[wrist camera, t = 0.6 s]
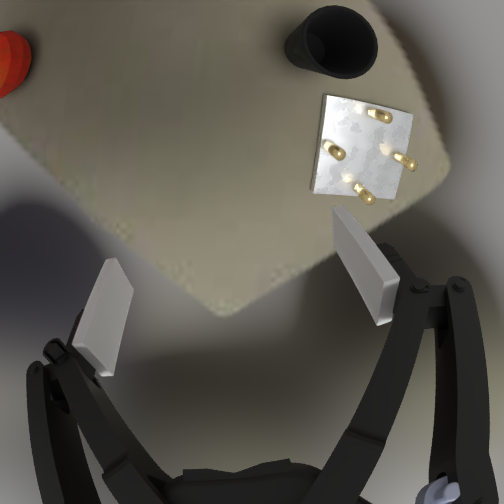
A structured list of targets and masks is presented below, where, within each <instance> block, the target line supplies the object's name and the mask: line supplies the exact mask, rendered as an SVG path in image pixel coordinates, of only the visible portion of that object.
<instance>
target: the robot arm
mask: <svg viewBox="0 0 504 504" xmlns="http://www.w3.org/2000/svg"><path fill="white" fill-rule="evenodd" d="M332 222H333V243H334V248H335V249H336V251H337V253H338V255H339V256H340V258H341V260H342V261H343V263H344V265H345V267H346V268H347V270H348V272H349V274H350V276H351V278H352V279H353V281H354V283H355V285H356V287H357V288H358V290H359V292H360V294H361V296H362V298H363V300H364V301H365V303H366V305H367V307H368V309H369V311H370V313H371V314H372V317H373V319H374V321H375V323H376V325H377V326H378V325H381V324H384V323H387V322H390V321H391V320H392V315H393V313H394V315H395V317H394V320H393V323H392V326H391V329H390V332H389V334H388V337H387V340H386V343H385V345H384V348H383V350H382V353H381V355H380V358H379V360H378V363H377V365H376V368H375V370H374V373H373V375H372V377H371V380H370V382H369V384H368V386H367V389H366V391H365V393H364V395H363V397H362V400H361V402H360V404H359V406H358V408H357V410H356V412H355V414H354V416H353V418H352V420H351V423H350V424H349V426H348V428H347V429H346V430H345V432H344V433H343V435H342V437H341V439H340V440H339V442H338V444H337V445H336V447H335V449H334V451H333V452H332V454H331V456H330V458H329V459H328V461H327V463H326V464H325V466H324V468H323V469H322V470H320V469H318V468H316V467H313V466H311V465H306V464H302V463H291V462H290V459H284V460H278V461H272V462H266V463H261V464H259V465H256V466H253V467H250V468H248V469H245V470H242V471H239V472H236V473H231V472H224V471H218V470H212V469H184V470H183V475H181V476H178V477H176V478H174V479H172V478H171V477H170V476H169V475H167V474H166V473H165V472H164V471H163V470H162V469H161V468H160V467H159V466H158V465H157V464H156V462H155V461H154V460H153V459H152V457H150V455H149V454H148V453H147V451H146V450H145V449H144V447H143V446H142V445H141V443H140V442H139V441H138V440H137V438H136V437H135V435H134V434H133V433H132V431H131V430H130V429H129V427H128V426H127V424H126V423H125V421H124V420H123V419H122V417H121V416H120V414H119V413H118V411H117V410H116V408H115V407H114V405H113V404H112V402H111V401H110V399H109V397H108V396H107V394H106V393H105V391H104V389H103V388H102V386H101V384H100V383H99V381H98V379H97V378H96V377H95V376H94V375H95V371H97V372H98V373H99V374H100V375H101V376H113V375H114V370H115V364H116V360H117V355H118V350H119V347H120V342H121V338H122V334H123V330H124V326H125V322H126V318H127V314H128V310H129V306H130V302H131V299H132V295H133V292H134V290H133V288H132V286H131V284H130V283H129V281H128V279H127V277H126V275H125V274H124V272H123V270H122V268H121V266H120V264H119V262H118V261H117V259H116V258H112V259H108V260H106V261H105V263H104V265H103V267H102V269H101V271H100V274H99V276H98V278H97V281H96V283H95V285H94V288H93V290H92V293H91V295H90V297H89V300H88V302H87V305H86V307H85V309H82V310H81V312H80V313H79V314H78V316H77V318H76V320H75V323H74V325H73V328H72V331H71V333H70V336H69V339H68V342H67V344H66V346H65V345H64V343H63V342H62V341H61V340H60V339H59V338H54V339H52V340H51V341H49V342H48V343H47V344H46V346H45V347H44V350H43V356H44V357H45V358H46V359H47V360H48V361H49V362H50V364H47V365H45V366H44V365H43V364H42V363H41V362H40V361H34V362H33V363H32V364H31V365H30V366H29V368H28V370H27V373H26V388H27V410H28V423H29V433H30V440H31V448H32V455H33V460H34V466H35V471H36V476H37V481H38V485H39V490H40V494H41V498H42V502H43V504H101V501H100V499H99V496H98V493H97V490H96V488H95V485H94V482H93V479H92V476H91V473H90V470H89V467H88V464H87V460H86V457H85V453H84V450H83V446H82V442H81V438H80V434H79V430H78V425H79V427H80V429H81V431H82V433H83V435H84V437H85V439H86V441H87V443H88V444H89V446H90V448H91V450H92V451H93V453H94V455H95V457H96V458H97V460H98V461H99V464H100V465H101V467H102V468H103V470H104V473H103V474H102V479H103V480H104V482H105V484H106V485H107V487H108V488H109V490H110V491H111V493H112V494H113V496H114V497H115V499H116V500H117V501H118V503H119V504H372V503H370V502H368V501H367V500H365V499H364V498H362V497H361V496H359V495H360V493H361V492H362V490H363V488H364V487H365V485H366V483H367V481H368V479H369V477H370V475H371V474H372V471H373V470H374V468H375V466H376V464H377V462H378V460H379V458H380V456H381V453H382V451H383V449H384V446H385V444H386V440H387V437H388V435H389V432H390V430H391V428H392V425H393V423H394V420H395V418H396V415H397V413H398V410H399V408H400V405H401V402H402V400H403V397H404V394H405V391H406V388H407V386H408V382H409V379H410V376H411V373H412V370H413V367H414V364H415V360H416V357H417V353H418V350H419V346H420V342H421V339H422V335H423V331H424V329H429V328H434V335H435V357H436V392H435V393H436V395H435V414H434V428H433V438H432V447H431V456H430V463H429V484H427V485H426V486H424V487H423V488H422V489H421V490H420V491H419V493H418V495H417V497H416V503H415V504H498V503H499V498H498V492H497V486H496V482H495V477H494V472H493V468H492V464H491V459H490V456H489V433H490V421H489V420H490V415H489V414H490V413H489V392H488V391H489V390H488V378H487V368H486V359H485V351H484V345H483V338H482V332H481V327H480V322H479V316H478V312H477V307H476V303H475V298H474V294H473V290H472V286H471V285H470V282H469V281H467V279H465V278H463V277H460V276H452V277H451V278H449V279H448V281H447V283H446V285H430V283H429V282H428V281H426V280H425V279H422V278H417V277H416V276H415V274H414V273H413V272H412V270H411V269H410V268H409V267H408V265H407V264H406V263H405V261H404V260H403V259H402V257H400V255H399V254H398V252H397V251H396V250H395V249H394V247H392V246H390V245H389V244H387V243H382V244H378V245H376V244H375V243H374V242H373V241H372V239H371V238H370V237H369V235H368V234H367V233H366V231H365V230H364V229H363V228H362V226H361V225H360V224H359V223H358V221H357V220H356V219H355V218H354V216H353V215H352V214H351V213H350V211H349V210H348V209H347V208H346V207H345V205H339V206H334V207H332ZM77 423H78V425H77Z"/></svg>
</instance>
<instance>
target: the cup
mask: <svg viewBox="0 0 504 504" xmlns="http://www.w3.org/2000/svg"><path fill="white" fill-rule="evenodd" d="M377 52H378V44H377V38H376V35H375V32H374V30H373V29H372V27H371V25H370V24H369V22H368V21H367V20H366V19H365V18H364V17H363V16H361V15H360V14H359V13H357V12H356V11H354V10H352V9H349V8H347V7H343V6H337V5H334V6H325V7H322V8H319V9H317V10H316V11H314V12H313V13H311V14H310V15H309V16H308V17H307V18H306V19H305V20H304V21H303V22H302V23H301V24H300V25H299V26H298V27H297V29H296V30H295V31H294V32H293V33H292V34H291V35H290V36H289V37H288V39H287V40H286V43H285V53H286V56H287V58H288V59H289V60H290V62H292V63H293V64H294V65H296V66H297V67H300V68H303V69H307V70H311V71H314V72H318V73H321V74H325V75H328V76H332V77H335V78H339V79H352V78H356V77H359V76H361V75H363V74H365V73H366V72H367V71H368V70H370V68H371V67H372V66H373V64H374V62H375V60H376V57H377Z"/></svg>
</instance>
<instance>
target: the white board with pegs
mask: <svg viewBox="0 0 504 504" xmlns="http://www.w3.org/2000/svg"><path fill="white" fill-rule="evenodd" d="M412 121H413V115H412V114H410V113H406V112H403V111H399V110H395V109H391V108H387V107H383V106H379V105H375V104H371V103H366V102H362V101H357V100H352V99H347V98H341V97H335V96H330V95H324V96H323V104H322V112H321V120H320V128H319V135H318V143H317V150H316V157H315V164H314V170H313V177H312V183H311V190H312V192H313V193H319V194H336V195H350V196H359V197H360V198H361V199H362V200H363V201H364V202H365V203H366V204H367V205H372V204H374V202H375V200H376V198H386V199H395V196H396V192H397V188H398V184H399V180H400V176H401V172H402V168H403V166H404V167H406V168H408V169H409V170H411V171H415V170H416V169H417V166H418V164H417V162H416V161H415V160H413V159H411V158H410V157H408V156H406V151H407V146H408V141H409V136H410V131H411V126H412Z"/></svg>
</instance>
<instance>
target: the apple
mask: <svg viewBox="0 0 504 504" xmlns="http://www.w3.org/2000/svg"><path fill="white" fill-rule="evenodd" d="M31 59H32V57H31V48H30V46H29V43H28V41H27V40H26V39H25V38H23V37H22V36H21V35H19V34H17V33H15V32H14V31H12V30H11V31H4V32H0V98H2V97H4V96H6V95H7V94H9V93H10V92H12V91H13V90H15V89H16V88H17V87H18V86H19V85H20V84H21V83H22V82H23V81H24V79H25V76H26V74H27V72H28V70H29V66H30V63H31Z"/></svg>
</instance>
